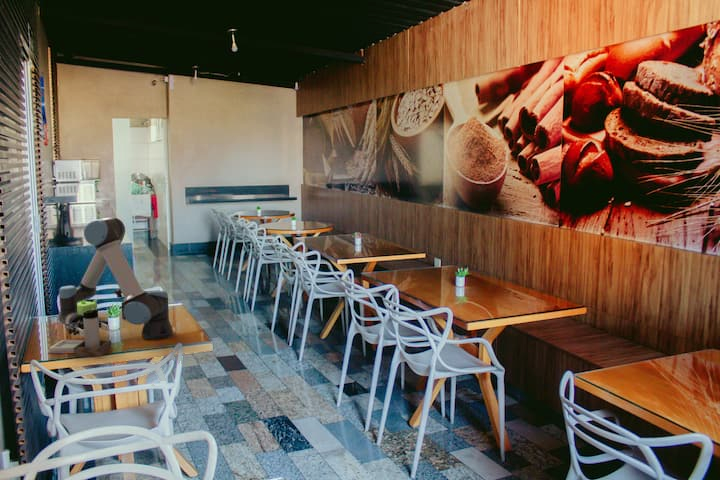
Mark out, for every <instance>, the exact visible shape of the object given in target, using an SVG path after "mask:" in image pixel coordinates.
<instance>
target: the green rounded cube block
mask: <svg viewBox="0 0 720 480" xmlns="http://www.w3.org/2000/svg"><path fill="white" fill-rule="evenodd" d="M97 301H98V299H94V300H93V301H87V300H84V301H81V302H78V303H77V311H78V313H79V314H81V315H83V313H84V312H86V311H90V310H98V302H97Z"/></svg>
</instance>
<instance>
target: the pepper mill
mask: <svg viewBox="0 0 720 480" xmlns="http://www.w3.org/2000/svg"><path fill="white" fill-rule="evenodd" d="M114 294H115V295H116V297H117V298H118V299H119V298H120V299H124V296H123V294H122V292H121V290H120V288H117V289H115V291H114ZM124 308H125V305H124V303H123V301H122V302H121V319H123V320H126V318H125V316H124Z"/></svg>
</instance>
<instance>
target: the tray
mask: <svg viewBox="0 0 720 480" xmlns="http://www.w3.org/2000/svg"><path fill="white" fill-rule="evenodd" d="M83 341H85V339H61V340H60V341H58V342H56V343H55V344H53V345H52V346H50V347H49V350H48V351H49V354H74V347H76V346H77V345H79V344H80V343H82V342H83Z"/></svg>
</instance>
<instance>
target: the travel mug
mask: <svg viewBox="0 0 720 480" xmlns="http://www.w3.org/2000/svg"><path fill="white" fill-rule="evenodd" d="M83 319H84V329H83V330H84V336H83V337H84V340H85V347H100V340H101V339H100V328H99V320H100V319H99V309H97V310H90V311H86V312H84V313H83Z"/></svg>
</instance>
